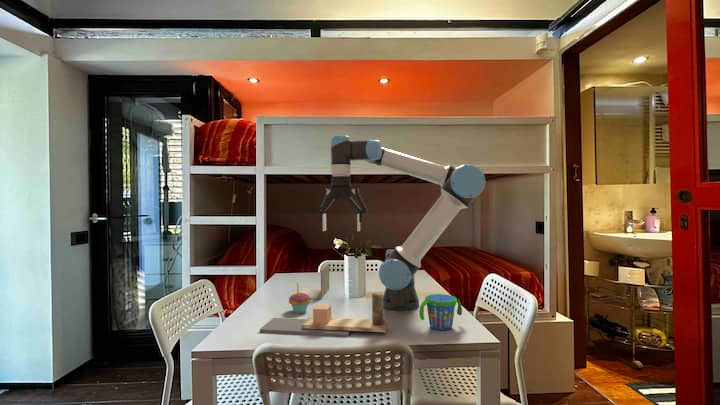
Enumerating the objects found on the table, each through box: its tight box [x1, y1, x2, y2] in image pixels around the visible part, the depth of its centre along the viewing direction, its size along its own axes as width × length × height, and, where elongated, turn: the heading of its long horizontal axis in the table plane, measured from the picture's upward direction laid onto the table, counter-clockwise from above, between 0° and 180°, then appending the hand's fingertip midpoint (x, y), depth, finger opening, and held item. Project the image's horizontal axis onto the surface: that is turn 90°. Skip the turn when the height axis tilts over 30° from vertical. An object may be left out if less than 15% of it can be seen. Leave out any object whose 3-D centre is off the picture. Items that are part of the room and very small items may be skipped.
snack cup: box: [418, 293, 463, 331], centre depth 128 cm, size 16×10×10 cm
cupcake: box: [288, 281, 311, 314], centre depth 148 cm, size 9×8×12 cm
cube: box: [312, 304, 332, 324], centre depth 128 cm, size 5×5×5 cm
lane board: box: [259, 317, 352, 338], centre depth 128 cm, size 30×12×1 cm, turn 81°
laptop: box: [299, 263, 331, 300], centre depth 174 cm, size 18×12×13 cm
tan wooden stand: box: [302, 292, 389, 333], centre depth 126 cm, size 28×8×11 cm, turn 81°
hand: (341, 230), depth 145 cm, fingers open, 13 cm apart
